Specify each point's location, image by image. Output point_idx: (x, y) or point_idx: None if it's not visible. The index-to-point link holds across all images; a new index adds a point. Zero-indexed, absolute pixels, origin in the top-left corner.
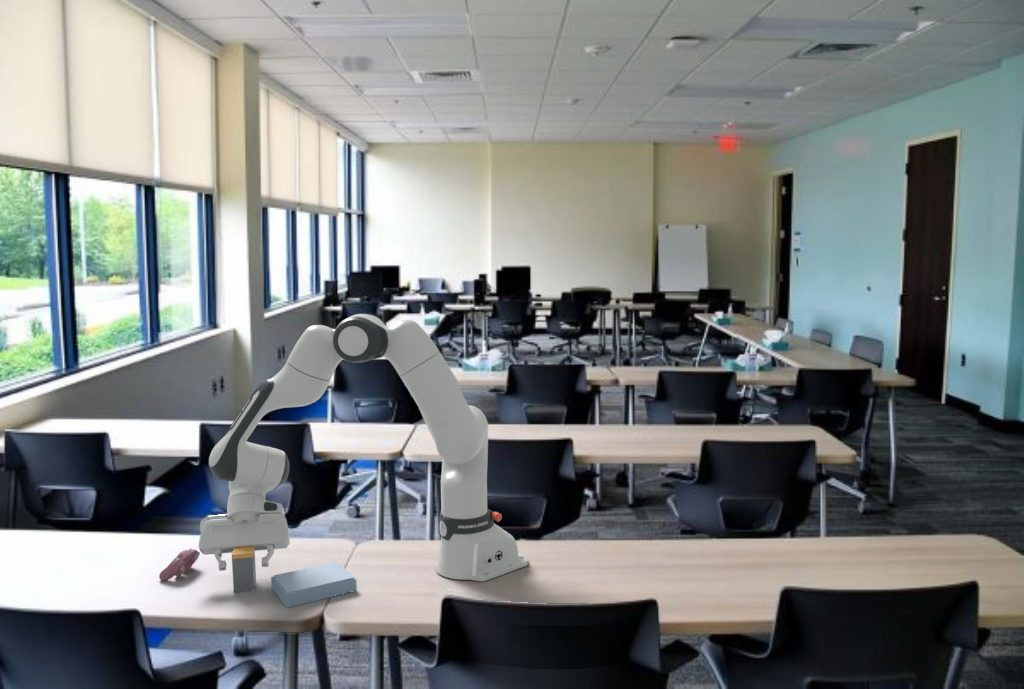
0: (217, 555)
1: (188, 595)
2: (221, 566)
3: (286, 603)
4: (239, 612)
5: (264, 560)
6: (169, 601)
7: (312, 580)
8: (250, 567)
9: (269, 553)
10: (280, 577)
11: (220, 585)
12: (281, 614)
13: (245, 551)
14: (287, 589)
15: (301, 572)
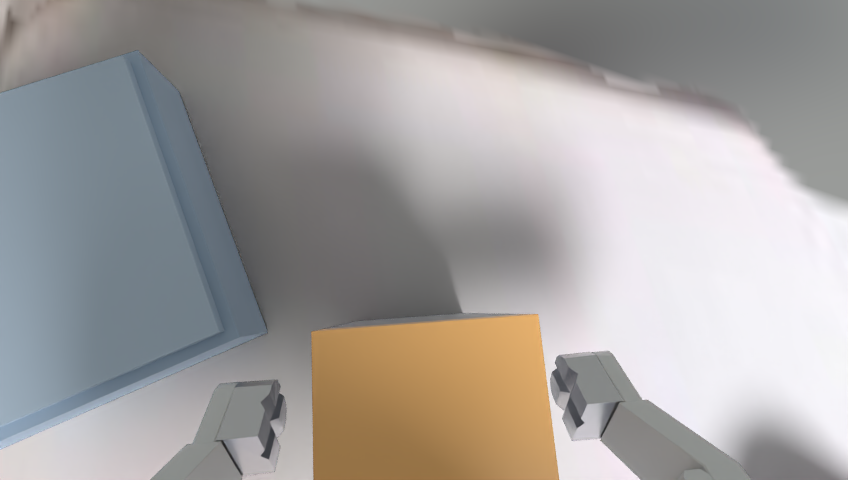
0: (693, 449)
1: (676, 312)
2: (590, 354)
3: (168, 82)
4: (391, 87)
5: (239, 405)
6: (737, 256)
7: None
8: (359, 323)
9: (162, 478)
10: (167, 287)
11: (555, 424)
12: (202, 35)
13: (400, 393)
14: (122, 96)
15: (15, 358)
